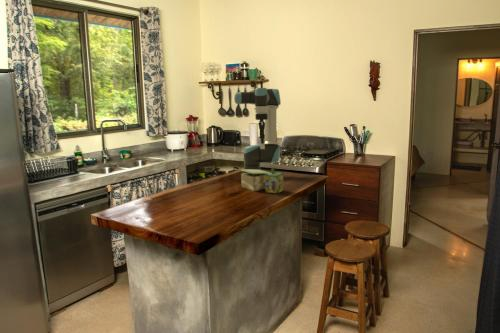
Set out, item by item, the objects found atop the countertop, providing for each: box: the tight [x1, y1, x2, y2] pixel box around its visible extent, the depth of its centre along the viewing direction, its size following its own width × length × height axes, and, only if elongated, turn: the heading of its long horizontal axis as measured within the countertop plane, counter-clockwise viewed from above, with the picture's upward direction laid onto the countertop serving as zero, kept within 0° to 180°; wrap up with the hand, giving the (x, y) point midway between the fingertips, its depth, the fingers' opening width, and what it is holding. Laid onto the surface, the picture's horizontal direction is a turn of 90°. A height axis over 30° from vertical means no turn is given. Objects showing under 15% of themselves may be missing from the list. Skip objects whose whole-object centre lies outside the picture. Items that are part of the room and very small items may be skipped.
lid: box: [240, 168, 271, 174], centre depth 256 cm, size 14×14×1 cm
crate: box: [240, 173, 265, 192], centre depth 257 cm, size 14×14×9 cm
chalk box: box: [264, 167, 284, 194], centre depth 245 cm, size 9×9×15 cm
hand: (262, 147), depth 246 cm, fingers open, 13 cm apart
